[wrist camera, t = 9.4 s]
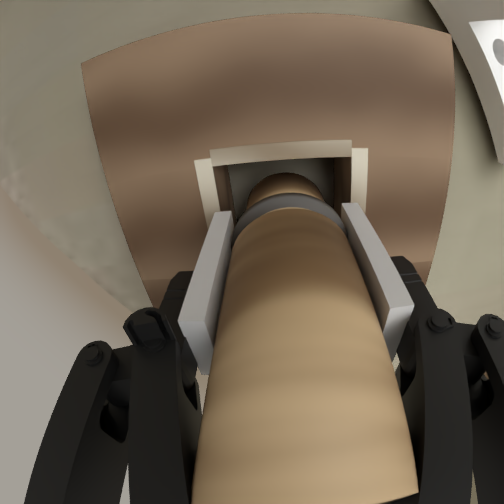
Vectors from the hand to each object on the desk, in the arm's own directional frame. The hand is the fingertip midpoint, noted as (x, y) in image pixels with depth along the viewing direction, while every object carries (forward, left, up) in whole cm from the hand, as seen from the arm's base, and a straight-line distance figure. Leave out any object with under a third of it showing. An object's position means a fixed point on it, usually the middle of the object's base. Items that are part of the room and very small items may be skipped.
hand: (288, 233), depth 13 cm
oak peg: (0, 0, -3) cm, 3 cm away
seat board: (-2, 0, -5) cm, 6 cm away
